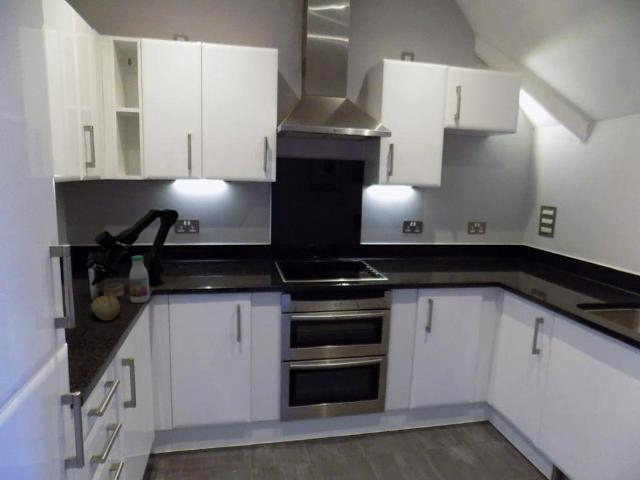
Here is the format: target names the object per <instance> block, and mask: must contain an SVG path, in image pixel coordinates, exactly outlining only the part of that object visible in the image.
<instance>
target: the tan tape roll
mask: <svg viewBox="0 0 640 480" xmlns="http://www.w3.org/2000/svg"><path fill="white" fill-rule="evenodd" d="M102 288H103V289H102V290H103V296H108V295H112V296H114V297H115V298H118V296H119V297H121V295H122V296H124V295H125V286H124V284H123V283H110V284H106V285H103V287H102ZM123 294H124V295H123Z"/></svg>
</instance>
